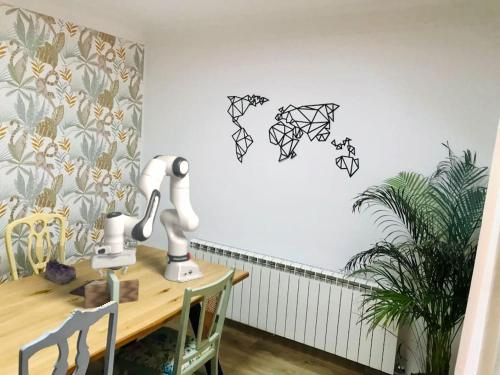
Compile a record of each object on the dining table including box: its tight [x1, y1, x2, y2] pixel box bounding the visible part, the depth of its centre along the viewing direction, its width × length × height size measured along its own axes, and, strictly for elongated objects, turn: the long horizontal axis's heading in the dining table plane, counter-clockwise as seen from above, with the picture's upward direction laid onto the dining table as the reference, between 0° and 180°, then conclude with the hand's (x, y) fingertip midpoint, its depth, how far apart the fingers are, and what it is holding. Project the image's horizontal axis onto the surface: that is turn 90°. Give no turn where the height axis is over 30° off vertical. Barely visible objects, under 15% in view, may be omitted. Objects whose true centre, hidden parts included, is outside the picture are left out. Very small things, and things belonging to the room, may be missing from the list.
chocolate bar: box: [68, 279, 106, 298], centre depth 193 cm, size 9×1×18 cm
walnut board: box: [83, 278, 140, 310], centre depth 178 cm, size 24×2×10 cm, turn 121°
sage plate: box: [106, 269, 120, 303], centre depth 178 cm, size 16×2×14 cm, turn 31°
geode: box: [44, 258, 77, 285], centre depth 202 cm, size 20×12×10 cm, turn 62°
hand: (113, 275), depth 177 cm, fingers open, 8 cm apart
